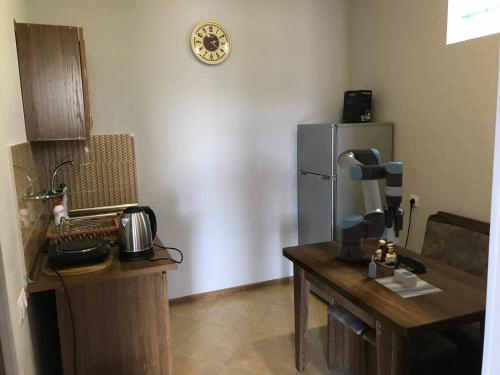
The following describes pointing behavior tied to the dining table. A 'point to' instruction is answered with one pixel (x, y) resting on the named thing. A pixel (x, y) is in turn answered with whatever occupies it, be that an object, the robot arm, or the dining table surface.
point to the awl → (372, 269)
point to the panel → (408, 287)
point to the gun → (410, 263)
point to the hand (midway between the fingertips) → (392, 242)
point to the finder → (405, 277)
